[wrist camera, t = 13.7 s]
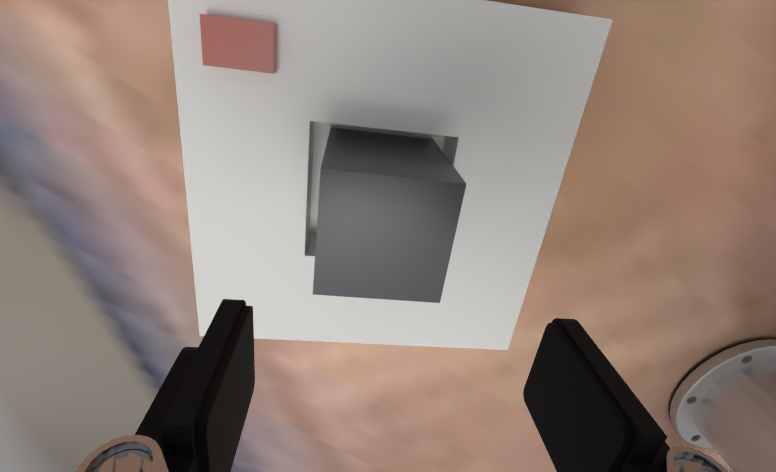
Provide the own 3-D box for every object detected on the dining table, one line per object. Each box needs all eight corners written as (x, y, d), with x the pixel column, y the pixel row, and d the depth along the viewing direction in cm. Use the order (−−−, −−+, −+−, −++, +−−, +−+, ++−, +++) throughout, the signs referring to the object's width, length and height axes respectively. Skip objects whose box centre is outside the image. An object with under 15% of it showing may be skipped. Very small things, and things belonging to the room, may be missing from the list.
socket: (572, 21, 23) (625, 18, 18) (490, 314, 32) (512, 360, 27) (196, -35, 21) (152, -54, 16) (218, 298, 29) (194, 346, 25)
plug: (433, 139, 24) (466, 183, 17) (417, 230, 27) (439, 302, 20) (330, 127, 24) (320, 168, 16) (323, 222, 26) (312, 294, 19)
